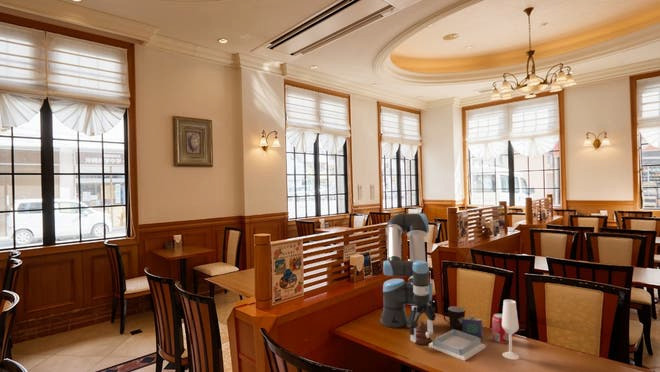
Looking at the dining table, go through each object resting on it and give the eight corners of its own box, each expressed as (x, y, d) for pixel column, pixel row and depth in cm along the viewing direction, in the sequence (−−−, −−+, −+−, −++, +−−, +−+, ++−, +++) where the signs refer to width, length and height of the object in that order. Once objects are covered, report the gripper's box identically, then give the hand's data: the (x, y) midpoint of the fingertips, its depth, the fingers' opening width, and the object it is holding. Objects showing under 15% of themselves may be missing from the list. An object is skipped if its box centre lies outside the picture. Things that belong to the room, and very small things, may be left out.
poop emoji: (415, 335, 180) (414, 317, 180) (432, 338, 176) (432, 319, 176) (410, 343, 171) (410, 324, 171) (428, 346, 167) (428, 327, 167)
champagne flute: (516, 352, 159) (515, 299, 159) (521, 360, 153) (520, 304, 153) (500, 351, 161) (499, 298, 161) (504, 358, 154) (503, 303, 154)
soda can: (508, 338, 174) (507, 314, 174) (508, 344, 168) (508, 319, 168) (492, 336, 177) (491, 312, 177) (492, 342, 171) (491, 317, 170)
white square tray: (428, 346, 167) (428, 338, 167) (450, 335, 179) (450, 327, 179) (464, 360, 153) (464, 351, 153) (485, 348, 165) (485, 339, 165)
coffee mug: (463, 325, 192) (462, 306, 192) (467, 331, 183) (467, 312, 183) (440, 324, 193) (440, 306, 193) (444, 331, 184) (444, 311, 184)
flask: (482, 336, 177) (481, 315, 177) (483, 339, 174) (482, 317, 174) (462, 334, 180) (461, 313, 179) (462, 337, 177) (462, 315, 177)
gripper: (411, 301, 163) (412, 347, 163) (442, 289, 179) (443, 332, 179) (398, 297, 168) (399, 342, 168) (429, 286, 184) (430, 327, 184)
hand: (421, 337), depth 174 cm, fingers open, 13 cm apart
